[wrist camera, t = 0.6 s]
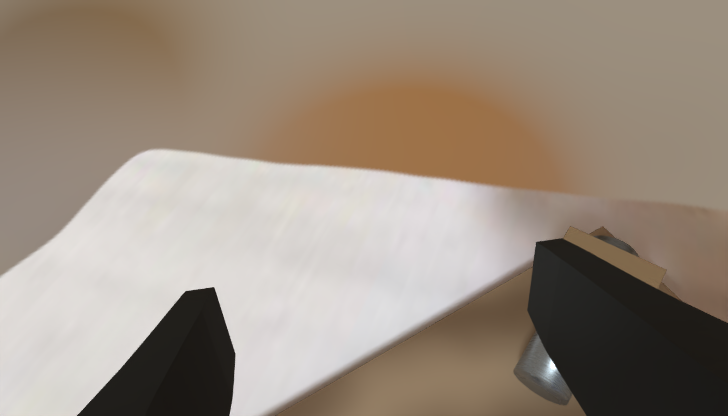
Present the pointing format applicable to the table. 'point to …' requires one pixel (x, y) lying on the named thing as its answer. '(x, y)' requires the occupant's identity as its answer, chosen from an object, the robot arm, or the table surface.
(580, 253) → the robot arm
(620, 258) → the shaft
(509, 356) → the board
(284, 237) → the table surface
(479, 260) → the table surface
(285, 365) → the table surface
